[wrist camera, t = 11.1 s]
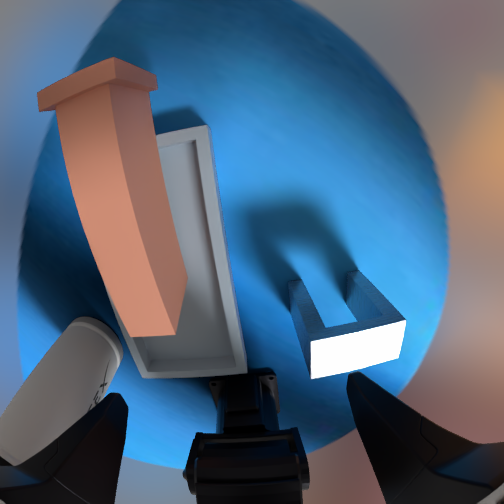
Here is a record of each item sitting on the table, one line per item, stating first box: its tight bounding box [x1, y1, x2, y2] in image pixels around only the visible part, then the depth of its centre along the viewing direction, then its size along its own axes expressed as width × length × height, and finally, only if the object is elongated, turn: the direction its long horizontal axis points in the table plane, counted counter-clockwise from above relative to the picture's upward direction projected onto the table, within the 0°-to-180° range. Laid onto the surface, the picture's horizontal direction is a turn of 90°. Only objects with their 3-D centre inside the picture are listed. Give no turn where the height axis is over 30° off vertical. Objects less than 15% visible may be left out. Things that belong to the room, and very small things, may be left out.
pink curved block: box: [37, 57, 188, 337], centre depth 14 cm, size 14×4×7 cm, turn 7°
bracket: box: [288, 270, 406, 379], centre depth 18 cm, size 3×6×8 cm, turn 97°
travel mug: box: [0, 317, 123, 466], centre depth 13 cm, size 6×7×20 cm
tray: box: [103, 125, 247, 378], centre depth 20 cm, size 19×10×2 cm, turn 7°
